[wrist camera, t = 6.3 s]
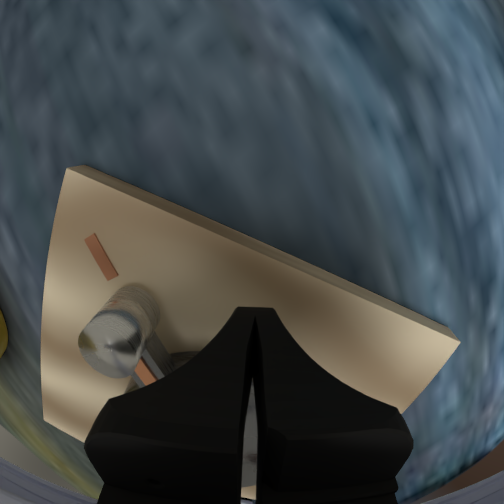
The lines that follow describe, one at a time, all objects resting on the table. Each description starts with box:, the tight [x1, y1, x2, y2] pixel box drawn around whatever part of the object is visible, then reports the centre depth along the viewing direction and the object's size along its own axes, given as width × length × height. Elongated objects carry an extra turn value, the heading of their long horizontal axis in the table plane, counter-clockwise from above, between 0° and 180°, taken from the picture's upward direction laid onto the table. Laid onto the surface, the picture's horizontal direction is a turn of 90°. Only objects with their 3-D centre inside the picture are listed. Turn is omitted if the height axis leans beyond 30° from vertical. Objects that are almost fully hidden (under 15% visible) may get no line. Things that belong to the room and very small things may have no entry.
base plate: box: [41, 165, 461, 500], centre depth 15 cm, size 18×20×2 cm
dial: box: [78, 286, 257, 488], centre depth 12 cm, size 13×9×3 cm
